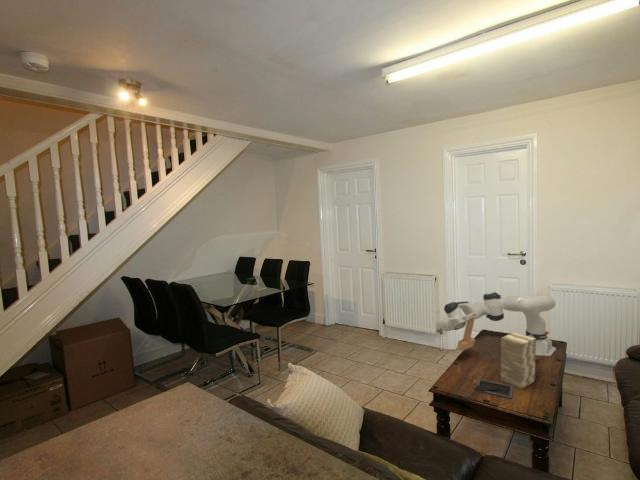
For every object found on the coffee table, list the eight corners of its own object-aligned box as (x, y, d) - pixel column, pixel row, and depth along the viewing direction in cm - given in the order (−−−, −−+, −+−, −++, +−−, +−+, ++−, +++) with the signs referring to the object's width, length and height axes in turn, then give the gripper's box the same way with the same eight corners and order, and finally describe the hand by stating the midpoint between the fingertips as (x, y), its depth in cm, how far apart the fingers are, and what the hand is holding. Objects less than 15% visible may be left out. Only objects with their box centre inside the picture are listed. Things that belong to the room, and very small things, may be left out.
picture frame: (475, 391, 194) (511, 400, 185) (475, 388, 194) (511, 397, 185) (478, 381, 206) (513, 388, 196) (478, 377, 205) (513, 385, 196)
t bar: (475, 313, 229) (480, 316, 226) (468, 342, 236) (473, 346, 233) (463, 317, 223) (469, 320, 220) (457, 347, 230) (462, 350, 227)
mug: (532, 369, 215) (532, 354, 214) (544, 374, 209) (545, 359, 207) (520, 374, 210) (520, 359, 209) (532, 379, 203) (532, 364, 202)
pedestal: (514, 373, 212) (514, 332, 209) (534, 381, 201) (535, 338, 198) (500, 380, 204) (501, 337, 202) (521, 388, 194) (522, 344, 191)
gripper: (470, 322, 239) (486, 316, 228) (450, 328, 228) (466, 323, 217) (466, 313, 241) (482, 307, 230) (446, 319, 230) (462, 314, 219)
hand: (474, 315), depth 223 cm, fingers closed on t bar, 3 cm apart
